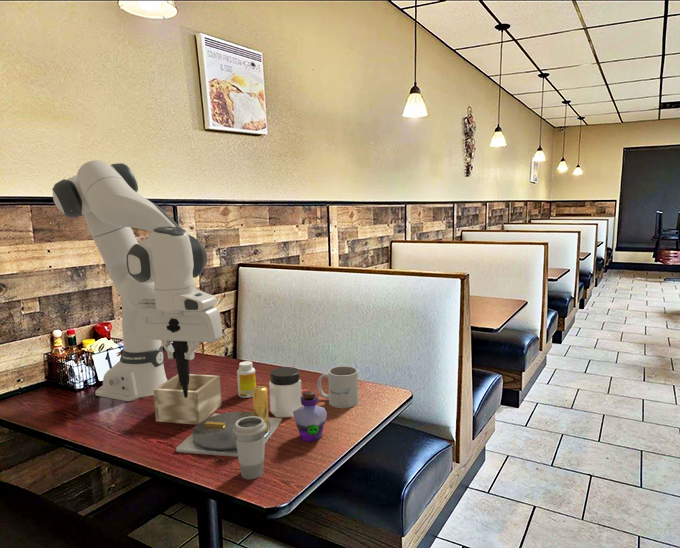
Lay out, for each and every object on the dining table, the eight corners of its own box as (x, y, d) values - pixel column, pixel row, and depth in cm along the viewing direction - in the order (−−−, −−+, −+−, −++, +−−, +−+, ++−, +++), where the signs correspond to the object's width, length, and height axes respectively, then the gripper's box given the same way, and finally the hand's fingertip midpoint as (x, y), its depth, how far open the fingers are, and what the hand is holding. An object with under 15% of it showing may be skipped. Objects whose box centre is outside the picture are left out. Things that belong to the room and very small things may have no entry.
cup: (243, 487, 99) (240, 432, 98) (230, 473, 105) (227, 421, 103) (274, 475, 103) (272, 422, 102) (260, 463, 109) (257, 412, 107)
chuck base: (176, 451, 115) (176, 447, 115) (214, 416, 134) (214, 413, 134) (253, 459, 110) (253, 455, 110) (281, 421, 129) (281, 418, 129)
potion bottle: (305, 450, 114) (303, 402, 112) (286, 437, 121) (285, 391, 119) (335, 440, 119) (333, 393, 117) (315, 427, 126) (314, 383, 124)
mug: (364, 401, 142) (363, 369, 140) (347, 412, 135) (347, 378, 133) (330, 393, 149) (329, 362, 147) (313, 403, 142) (311, 370, 140)
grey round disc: (177, 446, 115) (174, 399, 113) (214, 412, 133) (212, 372, 132) (254, 453, 111) (251, 404, 109) (281, 417, 129) (279, 375, 127)
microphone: (167, 400, 111) (159, 315, 108) (185, 391, 116) (178, 309, 113) (186, 403, 108) (177, 316, 105) (203, 394, 113) (196, 310, 111)
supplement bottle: (259, 395, 148) (258, 363, 147) (243, 400, 145) (241, 367, 143) (250, 390, 153) (249, 359, 151) (234, 395, 149) (233, 363, 148)
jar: (306, 414, 134) (304, 373, 132) (279, 421, 130) (277, 379, 128) (293, 403, 141) (291, 364, 140) (267, 409, 138) (265, 369, 136)
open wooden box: (155, 421, 132) (153, 389, 130) (181, 402, 144) (179, 373, 143) (199, 424, 129) (197, 392, 128) (221, 405, 141) (219, 375, 140)
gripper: (127, 301, 108) (133, 360, 110) (208, 303, 103) (213, 365, 105) (145, 296, 114) (151, 352, 116) (223, 297, 109) (227, 356, 111)
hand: (181, 358), depth 110 cm, fingers closed on microphone, 3 cm apart
